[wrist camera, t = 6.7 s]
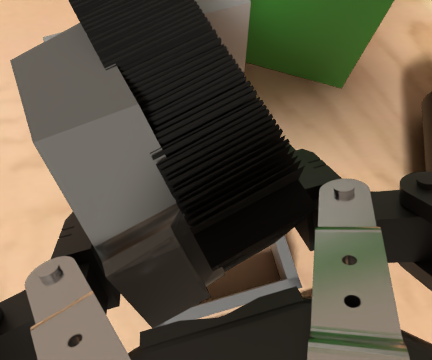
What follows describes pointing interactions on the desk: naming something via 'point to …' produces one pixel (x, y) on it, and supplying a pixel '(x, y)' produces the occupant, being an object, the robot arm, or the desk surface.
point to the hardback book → (312, 36)
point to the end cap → (427, 130)
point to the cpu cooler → (159, 148)
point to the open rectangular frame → (237, 44)
